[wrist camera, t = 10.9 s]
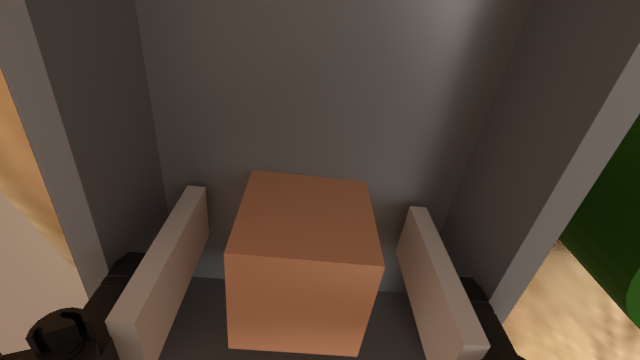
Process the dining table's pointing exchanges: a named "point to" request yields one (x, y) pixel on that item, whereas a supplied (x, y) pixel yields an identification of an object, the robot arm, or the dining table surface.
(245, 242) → the cube
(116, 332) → the robot arm
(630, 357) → the dining table surface
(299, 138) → the tote
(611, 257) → the candle
